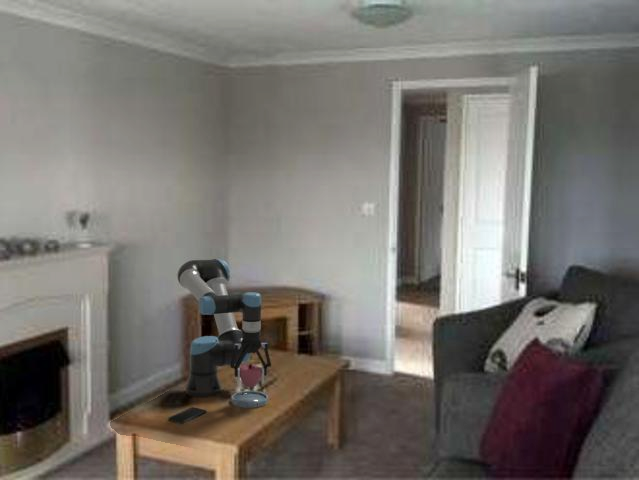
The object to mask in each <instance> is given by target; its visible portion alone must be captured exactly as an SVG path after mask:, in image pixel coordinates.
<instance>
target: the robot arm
mask: <svg viewBox="0 0 639 480" xmlns="http://www.w3.org/2000/svg"><path fill="white" fill-rule="evenodd" d="M230 278H231V274H230V268H229V265H228V263H227V262H226V261H225V260H223V259H220V258H212V259H194V260H193V259H192V260H188V261H186V262H184V263H183V264H182V265H181V266H180V267H179V269H178V271H177V281H178V283H179V285H181V287H183V288H184V289H186V290H188V291H189V292H190V294H192V296H193V297H194V298H195V299H196V300H197V301H198V304H197V305H198V310H199V312H200V314H201V315H203V316H205V315H208V316H211V315H213V316H214V317H213V318H214V319H215V323H216V327H217V331H218V336H215V335H209V336H208V335H204V336H201V337H197V338H195V339H194V340H192V341H191V343H190V349H189V355H190V356H189V377H188V379H187V382H186V384H185V385H186V386H185V394H186V393H187V394H186V395H188V394H189V395H188V396H191V397H194V398H209V397H214V396H218V395H219V394H220V393H222V384H221V382H220V377H219V375H218V368H219V367H225V366H226V367H227V366H230V368H231V369H234V377H235V378H236V384H237V386H241V384H240V383H241V378H240V367H241V365H242V364H246V363H247V362H249V360H250V358H251V354H256V355H257V357H258V359H259V361H260V362H261V364H262V366H261V367H260V368H261V370H262V375H261V377H260V383H261V384H262V385H265V377H266V376H267V374H268V373H267V370H268V368H269V367H270V368H271V366H272V362H271V358H270V355H269V350H268V348H269V344H268V343H267V342H262V341H261V327H262V326H261V323H262V322H261V321H262V320H261V319H262V296H261V294H260V293H259V292H254V291H252V292H251V291H249V292H244V293H243V292H235V293H233V294H228V293H229V292H228V290H227V286H228V283H229V281H230ZM234 313H241V314H242V326H241V328H242V330H241V329H239V328H238V325H237V322H236V317H235V315H234ZM261 347H262V349H263V352H264V356H265V359H266V362H265V361H264V359H263V356H262V354H261V353H260V351H259V349H260V348H261Z"/></svg>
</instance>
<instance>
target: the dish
mask: <svg viewBox="0 0 639 480" xmlns="http://www.w3.org/2000/svg"><path fill="white" fill-rule="evenodd" d="M242 393H247V394H243V395H242ZM230 400H231V404H232V405H234V406H236V407H239V408H245V409H247V408H248V409H252V408H253V409H254V408H260V407H263V406H266V405H268V403H269V400H270V398H269V395H268V393H265V392H262V391H258V390H243V391H238V392H235V393H234V394H232V395H231V398H230Z"/></svg>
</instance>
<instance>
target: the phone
mask: <svg viewBox="0 0 639 480" xmlns="http://www.w3.org/2000/svg"><path fill="white" fill-rule="evenodd" d="M207 413H208V411H207V409H202V408H198V407H193V406H192V407H190V408H187V409H185V410H183V411H180V412H179V413H176V414H173V415H172V416H169V417H168V418H167V420H168V421H169V422H172V423H176V424H181V425H185V424H187V423H190V422H191V421H193V420H196V419H197V418H199V417H202V416H203V415H204V416H205V415H206V414H207Z"/></svg>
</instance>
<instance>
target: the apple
mask: <svg viewBox="0 0 639 480" xmlns="http://www.w3.org/2000/svg"><path fill="white" fill-rule="evenodd" d="M239 369H240V381H242V383H243V385H244V387H248V388H255V387H256V386H257V384H258V383H259V381H260V380H261V375H262V370H261V367H260V366H258V365H256V364H252V363H248V364H244V365H240V366H239Z"/></svg>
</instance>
